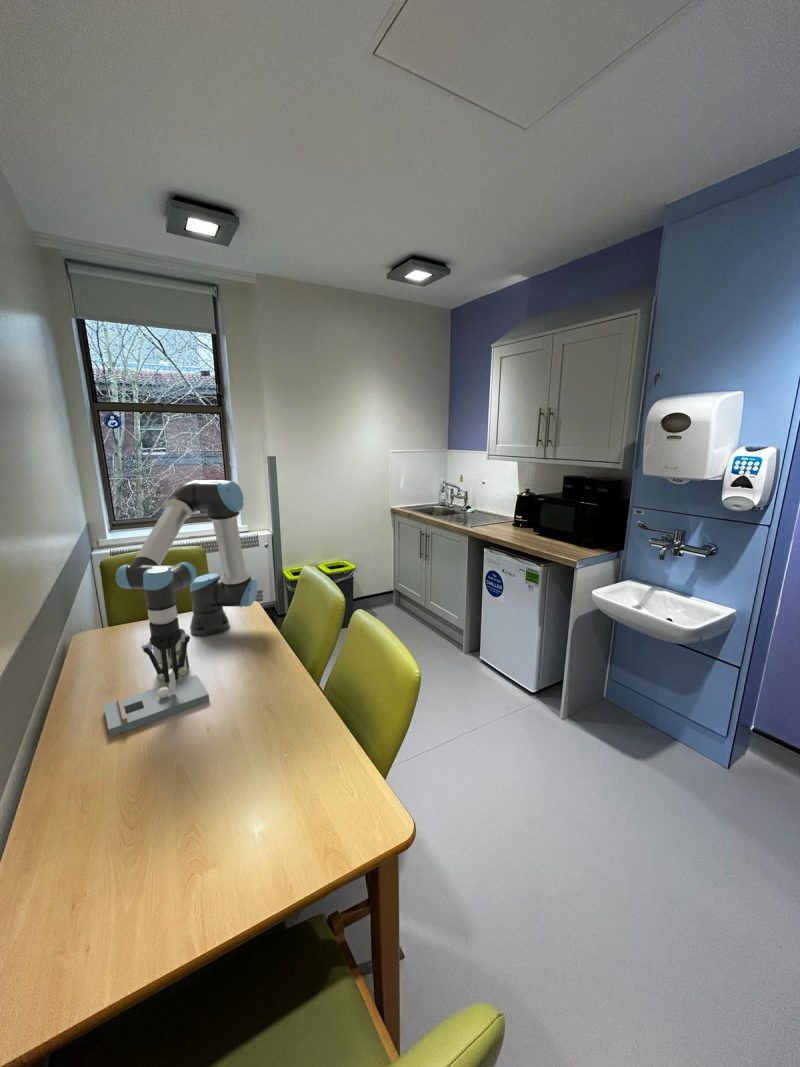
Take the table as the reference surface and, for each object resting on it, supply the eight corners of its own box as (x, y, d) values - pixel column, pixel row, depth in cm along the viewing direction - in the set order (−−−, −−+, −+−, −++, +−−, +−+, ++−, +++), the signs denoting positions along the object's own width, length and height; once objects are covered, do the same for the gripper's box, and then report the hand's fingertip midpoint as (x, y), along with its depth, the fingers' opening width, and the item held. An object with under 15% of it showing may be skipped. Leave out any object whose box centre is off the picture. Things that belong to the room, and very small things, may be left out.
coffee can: (168, 663, 155) (163, 627, 152) (195, 664, 154) (191, 628, 151) (149, 679, 145) (143, 641, 142) (178, 680, 144) (173, 642, 141)
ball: (155, 687, 131) (156, 697, 131) (158, 692, 128) (159, 701, 129) (167, 683, 133) (168, 693, 133) (170, 688, 130) (171, 697, 131)
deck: (197, 681, 144) (196, 670, 143) (209, 701, 133) (208, 689, 132) (104, 712, 128) (102, 700, 127) (109, 737, 117) (107, 724, 117)
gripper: (184, 609, 134) (192, 677, 139) (136, 621, 126) (146, 692, 131) (190, 617, 128) (198, 687, 134) (140, 629, 120) (151, 704, 126)
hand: (173, 690), depth 132 cm, fingers closed
